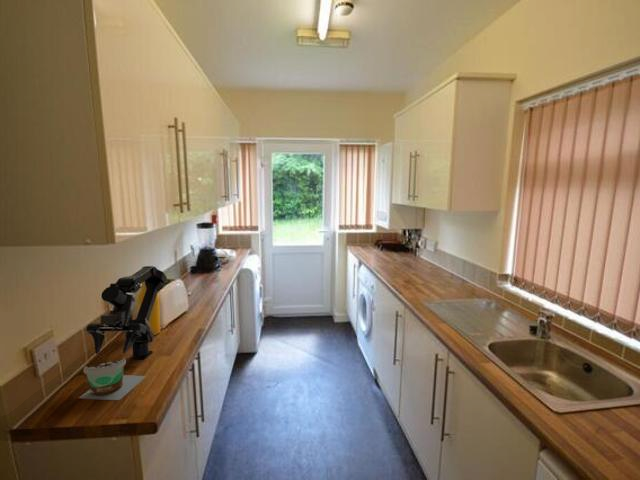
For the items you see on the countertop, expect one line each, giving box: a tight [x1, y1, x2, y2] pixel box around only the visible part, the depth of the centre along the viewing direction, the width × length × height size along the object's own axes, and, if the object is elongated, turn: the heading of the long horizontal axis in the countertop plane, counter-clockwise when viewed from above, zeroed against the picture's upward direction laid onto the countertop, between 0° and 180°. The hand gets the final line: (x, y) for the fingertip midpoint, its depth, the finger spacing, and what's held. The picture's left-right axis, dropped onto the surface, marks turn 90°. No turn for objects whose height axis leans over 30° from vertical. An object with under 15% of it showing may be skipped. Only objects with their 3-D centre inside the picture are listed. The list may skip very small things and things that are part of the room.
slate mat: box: [78, 374, 147, 402], centre depth 117 cm, size 15×14×1 cm
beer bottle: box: [137, 281, 161, 336], centre depth 163 cm, size 9×9×29 cm
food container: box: [83, 357, 127, 396], centre depth 113 cm, size 12×6×10 cm, turn 126°
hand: (110, 353), depth 118 cm, fingers open, 9 cm apart
